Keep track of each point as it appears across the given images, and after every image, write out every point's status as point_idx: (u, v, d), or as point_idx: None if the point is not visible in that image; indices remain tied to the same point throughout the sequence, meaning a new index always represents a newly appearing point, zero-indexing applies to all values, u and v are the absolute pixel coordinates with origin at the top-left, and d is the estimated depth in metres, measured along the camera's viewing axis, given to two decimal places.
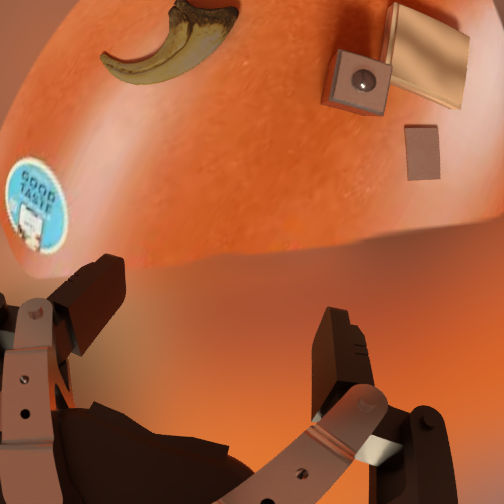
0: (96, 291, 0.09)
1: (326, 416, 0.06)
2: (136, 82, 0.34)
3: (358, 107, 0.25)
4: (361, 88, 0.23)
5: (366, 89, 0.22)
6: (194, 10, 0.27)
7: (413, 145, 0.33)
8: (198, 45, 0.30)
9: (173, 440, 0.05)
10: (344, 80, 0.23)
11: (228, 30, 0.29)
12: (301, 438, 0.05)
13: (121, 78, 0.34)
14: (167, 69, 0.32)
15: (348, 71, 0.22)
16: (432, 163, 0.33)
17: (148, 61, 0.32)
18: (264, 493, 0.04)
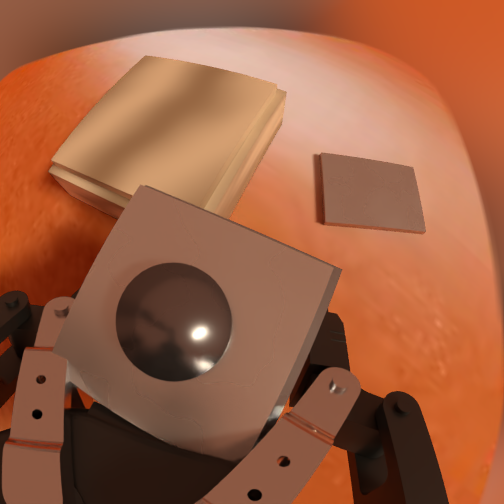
0: None
1: (300, 402, 0.06)
2: None
3: (296, 368, 0.06)
4: (207, 352, 0.05)
5: (219, 327, 0.05)
6: None
7: (360, 210, 0.17)
8: None
9: None
10: (163, 409, 0.05)
11: None
12: (278, 426, 0.05)
13: None
14: None
15: (125, 377, 0.05)
16: (389, 177, 0.18)
17: None
18: (264, 493, 0.04)
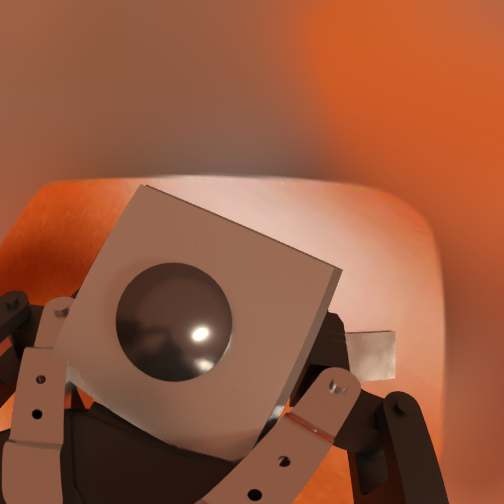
0: None
1: (300, 402, 0.06)
2: None
3: (296, 369, 0.06)
4: (207, 352, 0.05)
5: (219, 327, 0.05)
6: None
7: (354, 372, 0.27)
8: None
9: None
10: (163, 410, 0.05)
11: None
12: (278, 426, 0.05)
13: None
14: None
15: (125, 377, 0.05)
16: (377, 344, 0.28)
17: None
18: (264, 493, 0.04)
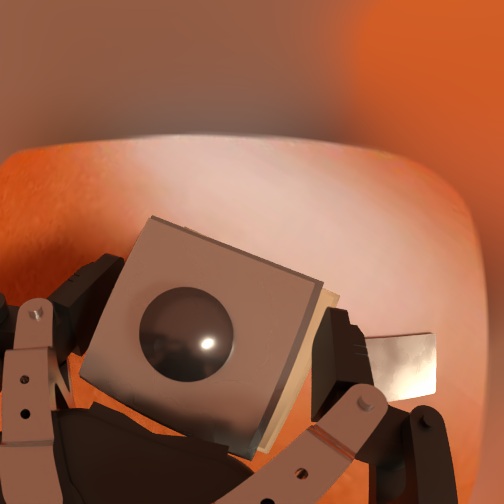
0: (96, 291, 0.09)
1: (326, 416, 0.06)
2: None
3: (288, 367, 0.08)
4: (215, 357, 0.06)
5: (223, 337, 0.06)
6: None
7: (387, 389, 0.19)
8: None
9: (174, 441, 0.05)
10: (181, 406, 0.06)
11: None
12: (301, 438, 0.05)
13: None
14: None
15: (148, 381, 0.07)
16: (414, 350, 0.20)
17: None
18: (264, 493, 0.04)
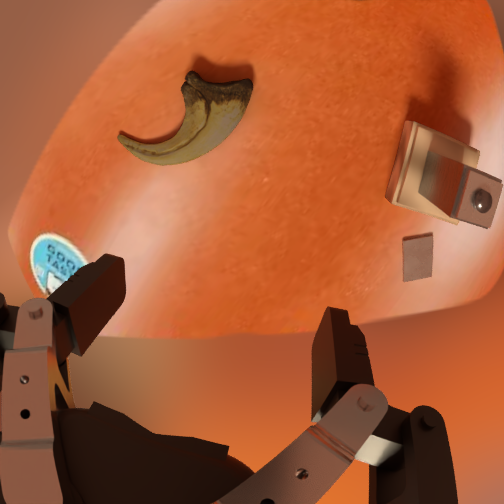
0: (96, 291, 0.09)
1: (326, 416, 0.06)
2: (162, 163, 0.39)
3: (471, 222, 0.24)
4: (480, 209, 0.22)
5: (484, 211, 0.22)
6: (208, 87, 0.32)
7: (409, 254, 0.40)
8: (219, 124, 0.35)
9: (173, 440, 0.05)
10: (467, 200, 0.23)
11: (246, 104, 0.34)
12: (301, 438, 0.05)
13: (145, 159, 0.39)
14: (192, 150, 0.37)
15: (471, 191, 0.22)
16: (425, 265, 0.40)
17: (170, 142, 0.37)
18: (264, 493, 0.04)
